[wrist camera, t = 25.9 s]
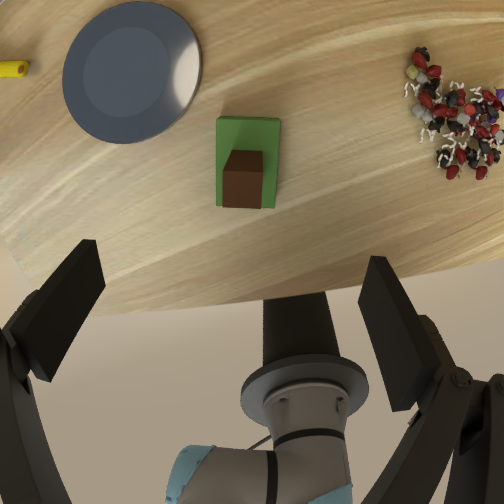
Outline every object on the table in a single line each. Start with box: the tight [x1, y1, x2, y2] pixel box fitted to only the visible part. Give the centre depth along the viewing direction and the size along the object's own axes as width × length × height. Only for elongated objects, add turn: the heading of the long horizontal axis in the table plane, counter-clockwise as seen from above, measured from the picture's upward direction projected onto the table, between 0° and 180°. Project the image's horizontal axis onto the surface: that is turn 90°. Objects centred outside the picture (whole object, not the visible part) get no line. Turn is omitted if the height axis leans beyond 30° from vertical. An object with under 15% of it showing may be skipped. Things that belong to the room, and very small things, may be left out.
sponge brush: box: [216, 116, 280, 209], centre depth 28 cm, size 9×6×10 cm, turn 178°
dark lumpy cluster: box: [404, 47, 504, 180], centre depth 26 cm, size 15×14×5 cm
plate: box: [62, 1, 202, 144], centre depth 27 cm, size 16×16×1 cm
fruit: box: [0, 60, 29, 78], centre depth 23 cm, size 10×2×5 cm, turn 74°
